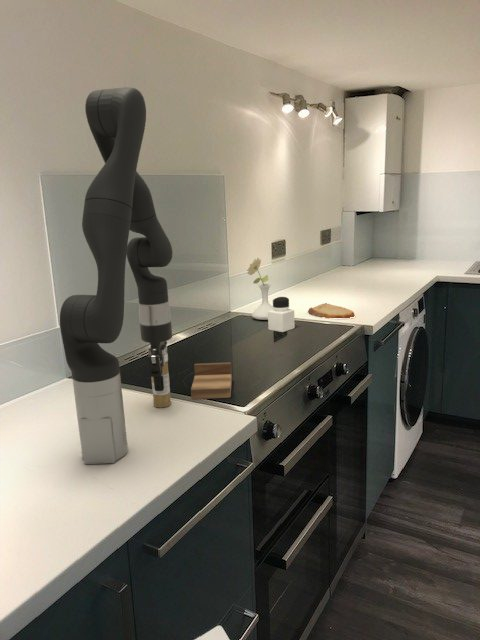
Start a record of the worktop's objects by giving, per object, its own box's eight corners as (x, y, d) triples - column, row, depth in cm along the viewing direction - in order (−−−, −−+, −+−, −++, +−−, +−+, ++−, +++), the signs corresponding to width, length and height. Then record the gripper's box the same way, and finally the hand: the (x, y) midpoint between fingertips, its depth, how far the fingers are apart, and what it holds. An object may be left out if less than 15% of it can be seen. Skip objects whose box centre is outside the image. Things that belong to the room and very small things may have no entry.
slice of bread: (356, 319, 212) (356, 310, 211) (310, 321, 213) (310, 311, 212) (350, 309, 230) (350, 300, 229) (307, 310, 231) (307, 302, 230)
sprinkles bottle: (153, 401, 138) (149, 351, 135) (171, 400, 138) (167, 350, 135) (152, 408, 134) (148, 357, 130) (171, 407, 134) (167, 355, 131)
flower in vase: (268, 313, 227) (266, 254, 221) (285, 318, 218) (283, 256, 212) (242, 319, 220) (240, 257, 214) (259, 324, 211) (256, 260, 205)
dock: (230, 397, 138) (229, 377, 137) (191, 399, 139) (190, 378, 137) (231, 381, 150) (230, 362, 149) (195, 382, 150) (194, 363, 149)
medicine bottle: (294, 328, 202) (294, 296, 199) (283, 332, 197) (282, 300, 194) (280, 325, 207) (279, 294, 204) (268, 329, 202) (266, 298, 199)
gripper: (166, 327, 124) (172, 397, 128) (174, 312, 138) (179, 376, 142) (133, 328, 124) (140, 398, 128) (145, 314, 138) (151, 377, 142)
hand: (161, 386), depth 135 cm, fingers closed on sprinkles bottle, 4 cm apart
